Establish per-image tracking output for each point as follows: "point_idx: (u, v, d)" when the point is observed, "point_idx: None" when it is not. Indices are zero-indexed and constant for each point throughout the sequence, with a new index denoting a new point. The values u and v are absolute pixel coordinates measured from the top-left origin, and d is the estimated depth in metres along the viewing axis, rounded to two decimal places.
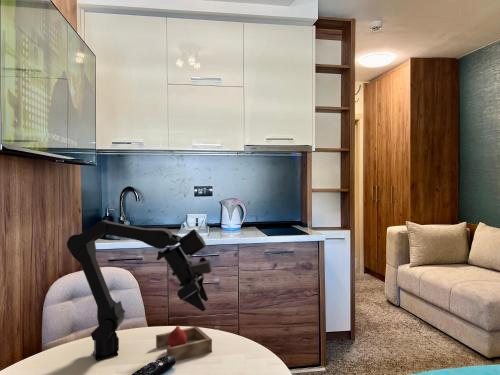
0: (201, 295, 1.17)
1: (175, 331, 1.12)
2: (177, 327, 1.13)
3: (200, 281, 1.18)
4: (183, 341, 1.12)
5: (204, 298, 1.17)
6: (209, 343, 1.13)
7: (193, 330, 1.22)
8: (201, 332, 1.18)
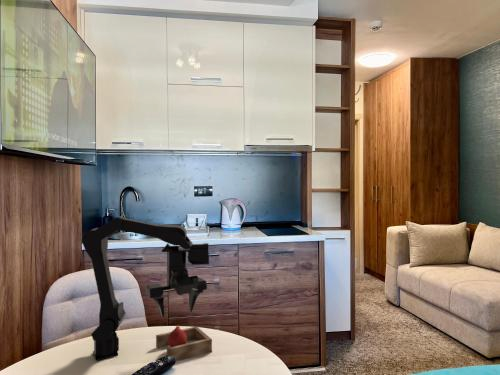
0: (189, 303, 1.16)
1: (175, 331, 1.12)
2: (177, 327, 1.13)
3: (193, 292, 1.15)
4: (183, 341, 1.12)
5: (189, 308, 1.16)
6: (209, 343, 1.13)
7: (193, 330, 1.22)
8: (201, 332, 1.18)
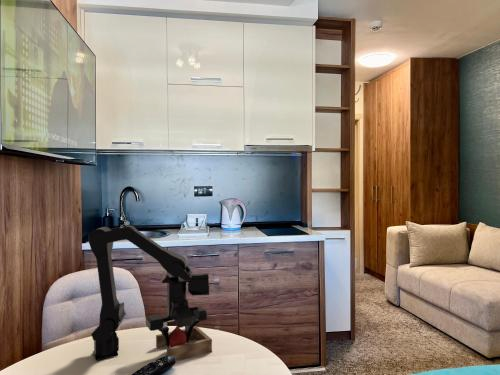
0: None
1: (175, 331, 1.12)
2: (177, 327, 1.13)
3: None
4: (183, 341, 1.12)
5: None
6: (209, 343, 1.13)
7: (193, 330, 1.22)
8: (201, 332, 1.18)
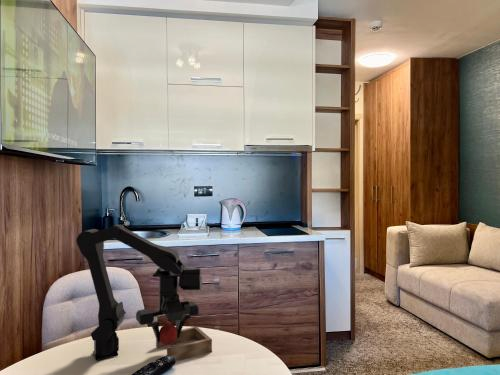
0: None
1: (165, 326, 1.11)
2: (168, 322, 1.12)
3: None
4: (173, 336, 1.10)
5: None
6: (209, 343, 1.13)
7: (193, 330, 1.22)
8: (201, 332, 1.18)
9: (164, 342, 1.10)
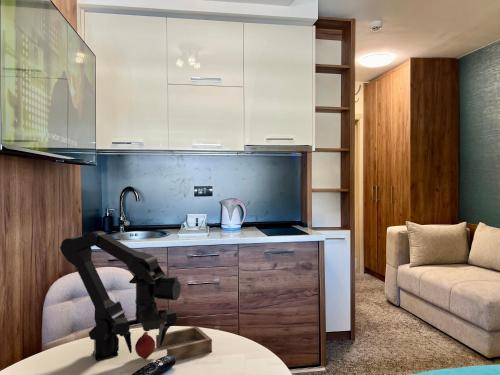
0: (159, 337, 1.11)
1: (142, 337, 1.07)
2: (145, 333, 1.08)
3: (163, 326, 1.10)
4: (150, 348, 1.07)
5: (159, 342, 1.11)
6: (209, 343, 1.13)
7: (193, 330, 1.22)
8: (201, 332, 1.18)
9: (141, 354, 1.06)
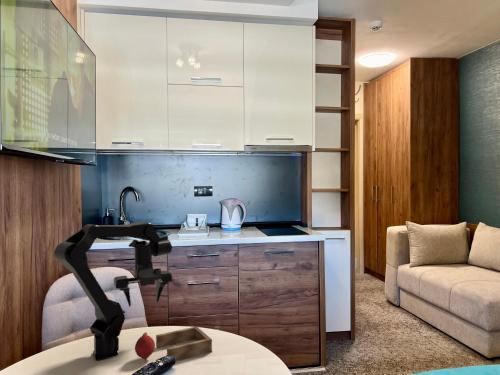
0: (156, 294, 1.25)
1: (142, 338, 1.07)
2: (144, 334, 1.08)
3: (159, 284, 1.23)
4: (150, 349, 1.06)
5: (156, 298, 1.25)
6: (209, 343, 1.13)
7: (193, 330, 1.22)
8: (201, 332, 1.18)
9: (140, 355, 1.06)
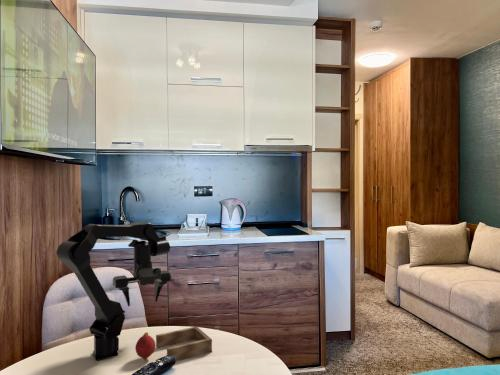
0: (155, 294, 1.26)
1: (142, 338, 1.07)
2: (145, 334, 1.08)
3: (158, 284, 1.24)
4: (150, 349, 1.06)
5: None
6: (209, 343, 1.13)
7: (193, 330, 1.22)
8: (201, 332, 1.18)
9: (140, 355, 1.06)
